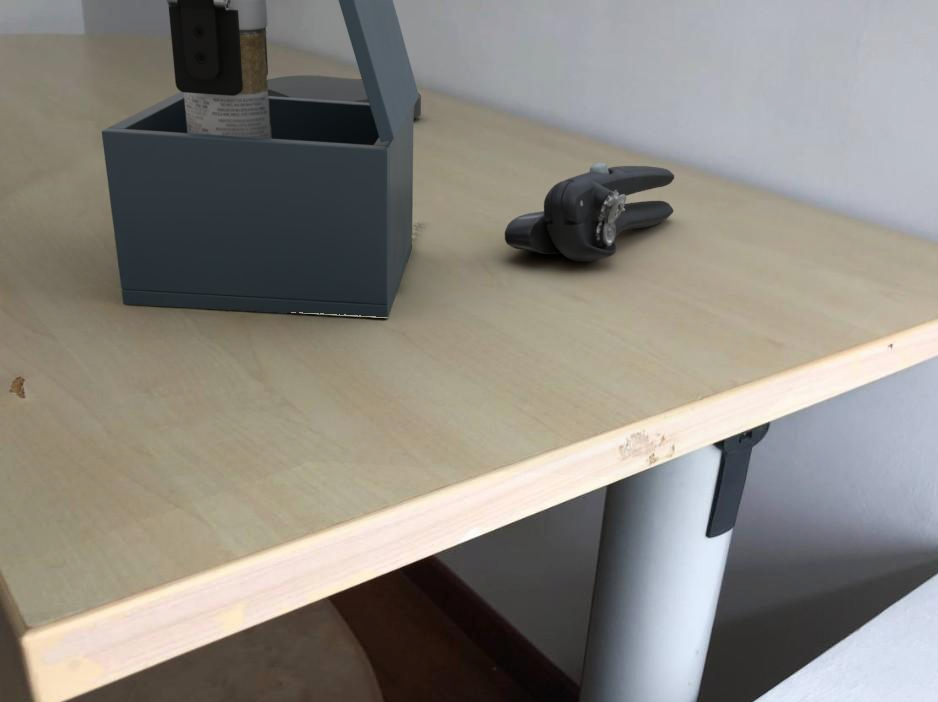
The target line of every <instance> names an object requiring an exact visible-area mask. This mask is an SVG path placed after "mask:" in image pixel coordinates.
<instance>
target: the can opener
mask: <svg viewBox="0 0 938 702" xmlns="http://www.w3.org/2000/svg"><path fill="white" fill-rule="evenodd" d="M674 179H675V174H674V173H673V172H671V170H669V169H668V168H663V167H659V166H649V165H619V166H611V167H608V164H607V163H605V162H597V163H596V162H595V163H594V164H592V165H591V166H590V167H589V171H588V172H585V173H582V174H581V173H580V174H578V175H575V176H572V177H569V178H566V179H564V180H562V181H559V182H558V183H555V185H553V186H552V187H551V188H550V189H549V191H548V192H547V193H546V195H545V197H544V200H543V211H535V212H529V213H525V214H521V215H519V216H517V217H514V219H512V220H511V221H510V222H509V223H508V224H507V226H506V228H505V230H504V241H505V242H506V244H507V246H509V247H511V248H512V249H517V250H521V251H526V252H533V253H539V254H544V255H556V254H557V255H558V254H562V255H563V256H564V257H566V258H567V259H569V260H571V261H575V262H584V263H585V262H592V261H598V260H599V261H600V260H602V259H606V258H608V257H611V256H613V255H615V253H616V252H617V245H616V242H615V240H616V237H617V236H618V234H619V233H620V232H621V231H622V230H626V229H627V230H629V229H630V230H631V229H632V230H633V229H634V230H635V229H644V228H648V227H649V228H650V227H652V226H655V225H658V224H660V223H662V222H664V221H666V219H668V218H669V217H671V216H672V214H673V212H674V208H673V207H672V206H671V204H670V203H668V202H667V201H664V200H645V201H643V200H642V201H636V202H628V203H626V201H627V196H630V195H633V194H637V193H640V192H644V191H648V190H654V189H657V188H663V187H666V186H669V185H670V184H671V183H672V182H673V181H674Z"/></svg>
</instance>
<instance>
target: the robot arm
mask: <svg viewBox="0 0 938 702" xmlns="http://www.w3.org/2000/svg"><path fill="white" fill-rule="evenodd" d="M230 2H231V0H166V3H167V5H168V17H169V26H170V37H171V38H170V40H171V49H172V61H173V71H174V81H175V87H176V88H177V90H178V91H179V92H185V93H199V94H214V95H229V96H235V95H237V94H239V93H240V92H241V91H242V89H243V80H242V64H241V48H240V32H239V16H238V10H229V9H230ZM264 30H265V31H266V32H267V27H265V29H264ZM265 55H266V66H267V76H268V74H269V64H268V46H267V36H266V37H265Z"/></svg>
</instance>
